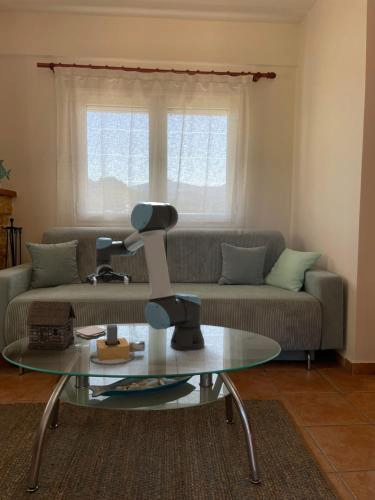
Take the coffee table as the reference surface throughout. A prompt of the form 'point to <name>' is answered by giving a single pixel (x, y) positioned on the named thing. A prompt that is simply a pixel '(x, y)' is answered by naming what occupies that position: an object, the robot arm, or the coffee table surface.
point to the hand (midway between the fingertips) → (111, 282)
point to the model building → (50, 325)
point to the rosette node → (116, 352)
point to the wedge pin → (112, 335)
